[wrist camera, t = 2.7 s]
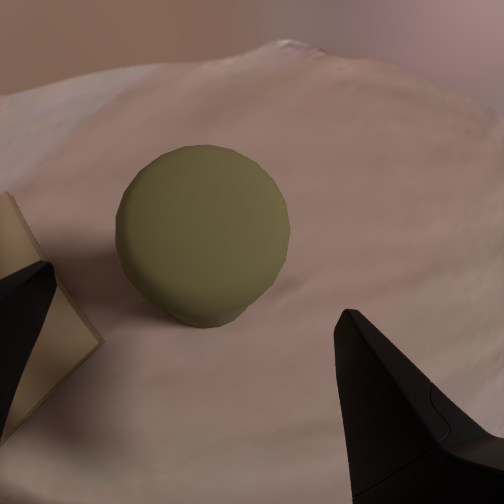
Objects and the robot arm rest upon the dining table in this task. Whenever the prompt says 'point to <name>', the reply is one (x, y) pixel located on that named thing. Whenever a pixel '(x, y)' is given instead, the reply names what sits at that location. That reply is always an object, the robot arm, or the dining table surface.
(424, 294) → the dining table surface
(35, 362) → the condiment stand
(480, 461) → the robot arm
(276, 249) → the cork
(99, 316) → the dining table surface
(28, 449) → the dining table surface
